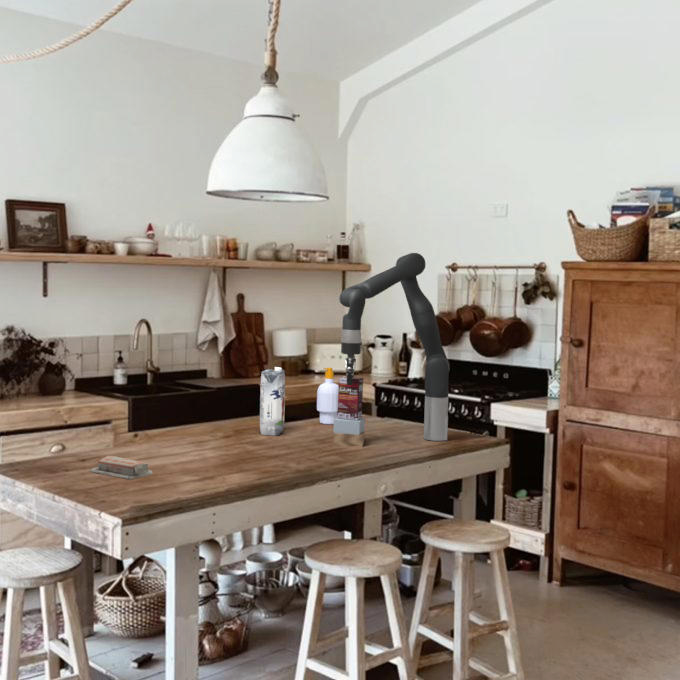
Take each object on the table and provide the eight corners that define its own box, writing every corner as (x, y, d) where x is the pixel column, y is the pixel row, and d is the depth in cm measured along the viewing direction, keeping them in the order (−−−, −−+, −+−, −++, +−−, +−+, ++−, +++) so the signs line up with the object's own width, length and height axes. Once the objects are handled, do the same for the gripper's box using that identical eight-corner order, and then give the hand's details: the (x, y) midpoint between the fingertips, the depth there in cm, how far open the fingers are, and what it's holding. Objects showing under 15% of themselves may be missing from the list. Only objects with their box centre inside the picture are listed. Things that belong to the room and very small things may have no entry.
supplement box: (336, 418, 336) (338, 377, 336) (341, 417, 341) (343, 376, 340) (357, 420, 333) (359, 378, 332) (362, 419, 337) (363, 377, 337)
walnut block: (363, 442, 343) (364, 429, 343) (362, 447, 332) (362, 434, 332) (335, 441, 344) (336, 428, 343) (333, 446, 333) (333, 433, 332)
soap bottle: (311, 422, 383) (312, 367, 381) (330, 420, 389) (331, 366, 388) (326, 426, 375) (327, 369, 373) (344, 424, 381) (346, 368, 380)
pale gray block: (364, 430, 341) (364, 417, 341) (359, 434, 332) (359, 421, 331) (339, 428, 344) (339, 415, 343) (333, 432, 334) (333, 419, 333)
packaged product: (153, 460, 279) (130, 466, 270) (153, 475, 279) (130, 481, 270) (112, 453, 288) (89, 458, 279) (112, 467, 288) (89, 473, 280)
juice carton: (258, 435, 349) (259, 367, 347) (263, 430, 360) (265, 365, 358) (280, 436, 348) (281, 368, 346) (285, 431, 359) (286, 366, 357)
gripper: (360, 343, 327) (359, 386, 329) (361, 340, 342) (360, 381, 343) (340, 342, 328) (339, 385, 329) (342, 339, 342) (341, 381, 343)
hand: (350, 383), depth 336 cm, fingers open, 8 cm apart
